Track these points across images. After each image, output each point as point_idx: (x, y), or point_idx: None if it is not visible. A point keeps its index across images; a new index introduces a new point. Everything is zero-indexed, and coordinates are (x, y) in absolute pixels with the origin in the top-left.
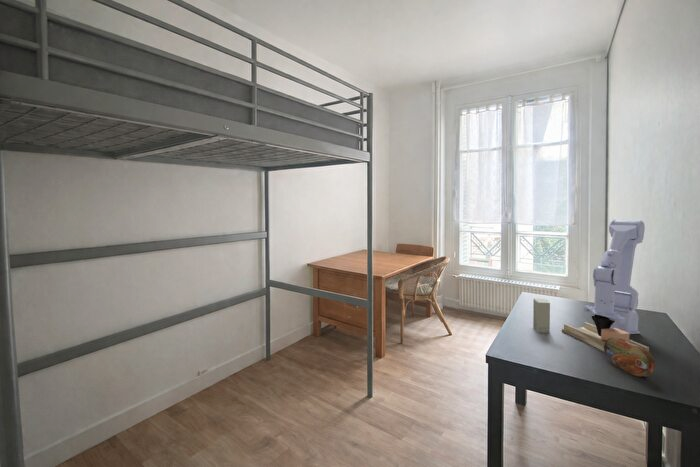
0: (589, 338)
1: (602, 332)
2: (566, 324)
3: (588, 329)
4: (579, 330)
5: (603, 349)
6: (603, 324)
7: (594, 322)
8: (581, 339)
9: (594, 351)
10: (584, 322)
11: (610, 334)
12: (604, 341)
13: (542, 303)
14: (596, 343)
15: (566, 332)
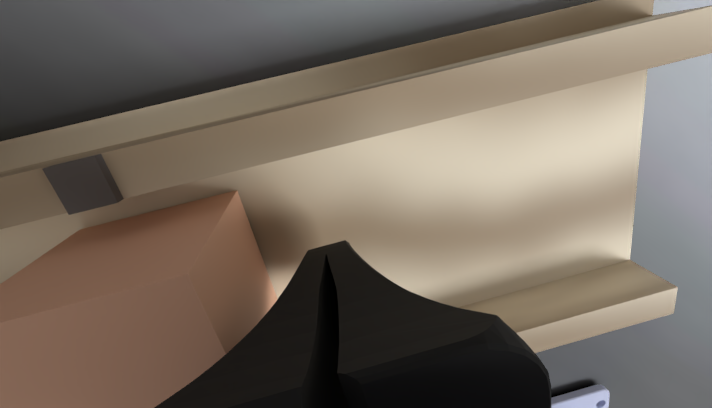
0: (292, 104)
1: (182, 252)
2: (698, 33)
3: (575, 269)
4: (473, 78)
5: (75, 124)
6: (203, 376)
7: (415, 295)
8: (367, 56)
9: (47, 7)
10: (674, 289)
11: (22, 303)
12: (47, 167)
13: None
14: (196, 125)
15: (575, 7)
